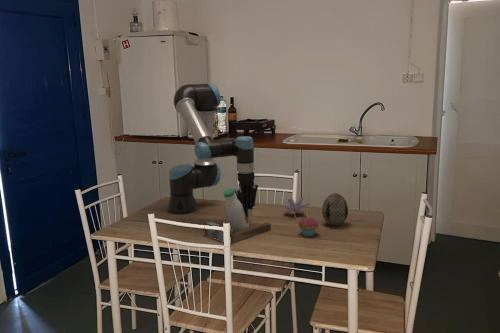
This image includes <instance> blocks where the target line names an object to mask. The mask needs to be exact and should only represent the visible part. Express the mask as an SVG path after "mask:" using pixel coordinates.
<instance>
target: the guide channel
mask: <svg viewBox="0 0 500 333" xmlns="http://www.w3.org/2000/svg"><path fill="white" fill-rule="evenodd" d="M228 222H229V221H227V222H225V223H228ZM229 223H230V222H229ZM205 225H209V226H219V227H223V223H219V224H218V223H215V222H212V221H210V220H208V221H205V222H204V226H205ZM271 225H272V223H270V222H267V221H266V222H264V223H260V224H257V225H255V226H252V227H249V229H246V230H243V231H240V232H237V233H234V232H233V229H232V228H231V229H230V237H231V244H230V245H232V244H235V243H238V242H241V241H243V240H246V239H250V238H252V237H255V236H259V235H260V234H263V233H266V232H269V231H271V230H272V228H271V227H272V226H271ZM205 235H206V237H207V236H209V237H208V238H210V237H212V238H211V239H213V238H216V239H219V240H221V241H223V231H217V230H206V229H205V228H204V236H205Z"/></svg>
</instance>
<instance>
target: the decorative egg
mask: <svg viewBox="0 0 500 333" xmlns="http://www.w3.org/2000/svg"><path fill="white" fill-rule="evenodd" d="M321 212H322V213H321V214H322V218H323V219H324V221H325V222H326V223H327V224H328V225H330V226H333V227H336V226H337V227H338V226H340V225H343V223H345V221H346V220H347V218H348V214H349V206H348V203H347V201H346V199H345V197H344V196H343V195H342V194H339V193H338V192H337V193H336V192H335V193H334V192H332V193H331V194H329V195H328V196H327V197H326V198H325V199H324V201H323V204H322V207H321Z"/></svg>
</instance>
